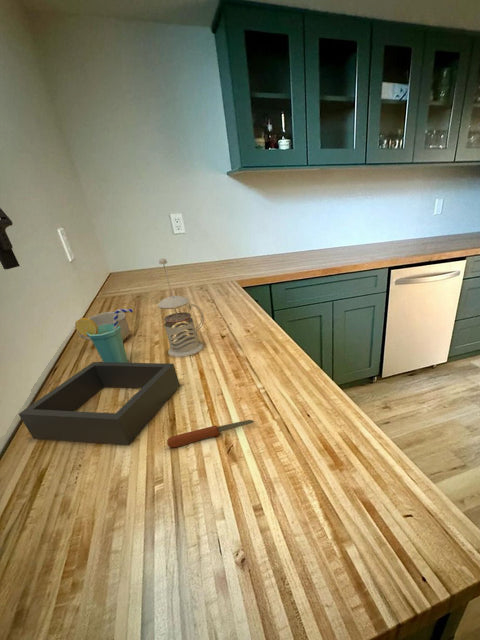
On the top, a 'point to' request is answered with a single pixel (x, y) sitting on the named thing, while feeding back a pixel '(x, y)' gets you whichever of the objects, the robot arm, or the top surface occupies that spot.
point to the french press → (185, 342)
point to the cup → (105, 338)
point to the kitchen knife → (203, 433)
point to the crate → (108, 428)
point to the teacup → (109, 319)
